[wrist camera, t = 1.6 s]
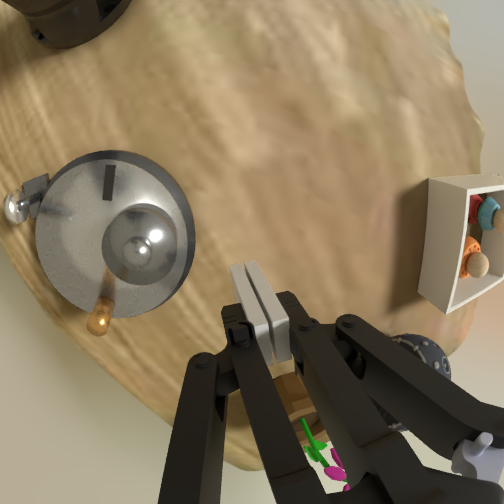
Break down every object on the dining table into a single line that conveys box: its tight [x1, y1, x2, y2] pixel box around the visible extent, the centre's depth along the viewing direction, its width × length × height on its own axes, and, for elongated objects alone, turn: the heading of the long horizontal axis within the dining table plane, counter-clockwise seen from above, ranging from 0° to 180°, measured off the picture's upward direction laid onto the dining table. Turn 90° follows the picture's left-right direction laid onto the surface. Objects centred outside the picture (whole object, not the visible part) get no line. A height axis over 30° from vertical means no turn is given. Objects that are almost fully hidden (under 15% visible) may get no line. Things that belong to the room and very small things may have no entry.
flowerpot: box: [273, 372, 350, 491], centre depth 38 cm, size 14×14×30 cm
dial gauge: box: [4, 173, 50, 225], centre depth 25 cm, size 5×4×8 cm
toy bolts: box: [458, 194, 504, 279], centre depth 42 cm, size 18×17×12 cm
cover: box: [101, 203, 178, 286], centre depth 28 cm, size 8×8×6 cm
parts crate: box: [417, 174, 504, 314], centre depth 43 cm, size 23×24×9 cm
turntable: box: [35, 159, 187, 336], centre depth 28 cm, size 20×20×6 cm
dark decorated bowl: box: [367, 333, 451, 432], centre depth 45 cm, size 11×20×20 cm, turn 156°
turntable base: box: [36, 150, 195, 313], centre depth 32 cm, size 22×22×2 cm
